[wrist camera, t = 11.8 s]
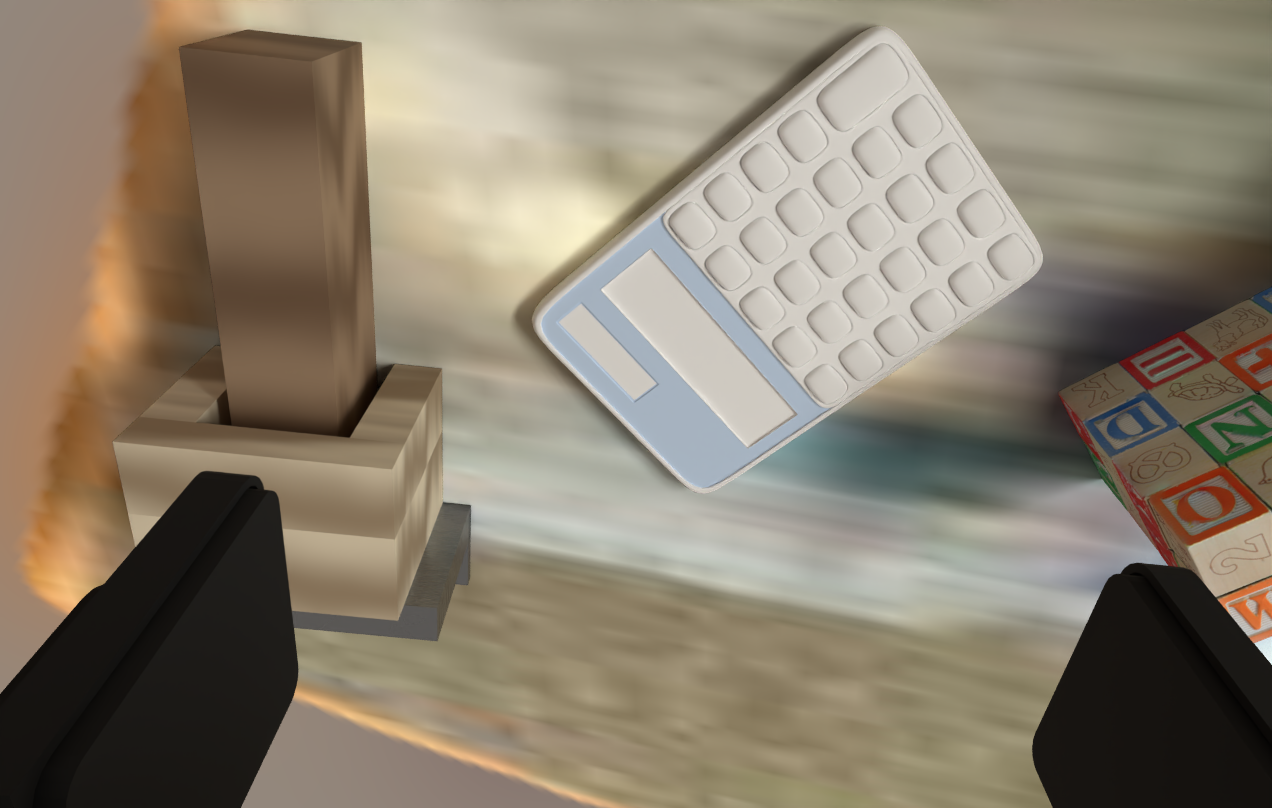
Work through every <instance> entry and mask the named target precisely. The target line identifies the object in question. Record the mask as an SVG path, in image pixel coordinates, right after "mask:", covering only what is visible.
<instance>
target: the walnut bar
mask: <svg viewBox="0 0 1272 808" xmlns="http://www.w3.org/2000/svg"><path fill="white" fill-rule="evenodd" d="M179 52H180V59H181V66H182V73H183V80H184V87H185V95H186V102H187V109H188V116H189V123H190V130H191V137H192V145H193V152H194V159H195V166H196V173H197V180H198V187H199V195H200V202H201V209H202V216H203V223H204V230H205V237H206V245H207V252H208V259H209V266H210V273H211V280H212V287H213V295H214V302H215V309H216V316H217V323H218V330H219V337H220V345H221V352H222V359H223V366H224V373H225V380H226V387H227V394H228V402H229V409H230V416H231V423H232V426H237V427H247V428H257V429H267V430H277V431H287V432H297V433H307V434H317V435H327V436H337V437H347V438H350V437H351V435H352V433H353V432H354V430H355V428H356V427H357V425H358V424H359V422H360V420H361V419H362V417H363V415H364V414H365V412H366V410H367V409H368V407H369V405H370V404H371V402H372V401H373V399H374V397H375V396H376V394H377V392H378V391H377V369H376V347H375V325H374V303H373V281H372V260H371V238H370V216H369V194H368V172H367V150H366V128H365V107H364V85H363V63H362V43H361V42H352V41H343V40H334V39H325V38H316V37H307V36H299V35H290V34H281V33H272V32H263V31H254V30H245V31H241V32H237V33H233V34H229V35H225V36H221V37H217V38H213V39H209V40H205V41H201V42H197V43H193V44H189V45H185V46H180V47H179Z"/></svg>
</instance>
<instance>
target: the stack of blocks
mask: <svg viewBox="0 0 1272 808" xmlns="http://www.w3.org/2000/svg"><path fill="white" fill-rule="evenodd" d="M1058 394H1059V397H1060V398H1061V400H1062V402H1063V404H1064V406H1065V408H1066V410H1067V412H1068V414H1069V416H1070V418H1071V420H1072V422H1073V424H1074V426H1075V428H1076V430H1077V432H1078V434H1079V435H1080V437H1081V438H1082V439H1083V441H1084V443H1085V445H1086V447H1087V449H1088V451H1089V453H1090V455H1091V457H1092V459H1093V461H1094V463H1095V465H1096V467H1097V469H1098V471H1099V473H1100V476H1101V478H1102V479H1103V480H1104V482H1105V483H1106V485H1107V486H1108V487H1109V488H1110V490H1111V491H1112V492H1113V494H1114V495H1115V496H1116V497H1117V498H1118V500H1119V501H1120V502H1121V503H1122V505H1123V506H1124V507H1125V509H1126V510H1127V511H1128V512H1129V513H1130V515H1131V516H1132V517H1133V519H1134V520H1135V521H1136V523H1137V524H1138V525H1139V527H1140V528H1141V529H1142V531H1143V532H1144V533H1145V534H1146V536H1147V537H1148V538H1149V540H1150V541H1151V542H1152V544H1153V545H1154V546H1155V548H1156V549H1157V550H1158V551H1159V553H1160V554H1161V556H1162V557H1163V559H1164V560H1165V562H1166V563H1167V564H1168V566H1174V567H1184V568H1187V569H1190V570H1192V571H1193V572H1194V573H1195V574H1196V575H1197V576H1198V577H1199V578H1200V579H1201V580H1202V581H1203V583H1204V584H1205V585H1206V586H1207V587H1208V589H1209V590H1210V591H1211V592H1212V593H1213V595H1214V596H1215V597H1216V598H1217V599H1218V601H1219V602H1220V603H1221V604H1222V606H1223V607H1224V608H1225V609H1226V610H1227V612H1228V613H1229V614H1230V615H1231V616H1232V618H1233V619H1234V620H1235V621H1236V622H1237V624H1238V625H1239V626H1240V627H1241V628H1242V630H1243V631H1244V632H1245V633H1246V635H1247V636H1248V637H1249V638H1250V639H1251V641H1252V642H1253V643H1256V642H1258V641H1261V640H1263V639H1266V638H1268V637H1271V636H1272V287H1271V288H1269V289H1267V290H1265V291H1263V292H1261V293H1258V294H1256V295H1254V296H1253V297H1252V298H1251V299H1249V300H1246V301H1243V302H1241V303H1239V304H1237V305H1235V306H1233V307H1231V308H1229V309H1227V310H1225V311H1223V312H1221V313H1220V314H1217V315H1215V316H1213V317H1211V318H1209V319H1207V320H1205V321H1203V322H1201V323H1199V324H1197V325H1195V326H1193V327H1191V328H1189V329H1188V330H1186V331H1181V332H1178V333H1176V334H1175V335H1172V336H1170V337H1168V338H1166V339H1164V340H1162V341H1160V342H1158V343H1156V344H1154V345H1152V346H1150V347H1148V348H1146V349H1144V350H1142V351H1140V352H1138V353H1136V354H1134V355H1132V356H1130V357H1128V358H1126V359H1124V360H1122V361H1120V362H1118V363H1116V364H1113V365H1111V366H1109V367H1107V368H1105V369H1103V370H1101V371H1099V372H1097V373H1095V374H1093V375H1091V376H1089V377H1087V378H1085V379H1083V380H1081V381H1079V382H1077V383H1075V384H1073V385H1070V386H1068V387H1066V388H1064V389H1063V390H1061V391H1059V392H1058Z"/></svg>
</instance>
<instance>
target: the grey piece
mask: <svg viewBox="0 0 1272 808" xmlns="http://www.w3.org/2000/svg"><path fill="white" fill-rule="evenodd" d="M470 531H471V505H462V504H452V503H442V506H441V508H440V511H439V514H438V516H437V519H436V522H435V524H434V527H433V530H432V532H431V535H430V537H429V540H428V543H427V545H426V548H425V551H424V553H423V556H422V559H421V561H420V564H419V567H418V569H417V572H416V574H415V577H414V580H413V582H412V585H411V588H410V590H409V593H408V596H407V598H406V601H405V604H404V606H403V609H402V611H401V614H400V617H399V619H398V621H395V620H385V619H374V618H364V617H353V616H342V615H332V614H321V613H311V612H300V611H292V616H293V625H294V628H302V629H313V630H324V631H334V632H345V633H356V634H366V635H377V636H388V637H398V638H409V639H420V640H430V641H438V638H439V634H440V631H441V628H442V625H443V622H444V618H445V615H446V612H447V609H448V606H449V602H450V599H451V596H452V593H453V590H454V586H455V584H460V585H468V583H469V579H470Z"/></svg>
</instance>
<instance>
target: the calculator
mask: <svg viewBox="0 0 1272 808" xmlns="http://www.w3.org/2000/svg"><path fill="white" fill-rule="evenodd" d="M889 45H890V46H891V47H892V48H893V49H894V50H893V49H892V48H891V47H890V46H889ZM896 53H897V54H896ZM898 56H899V57H898ZM900 59H901V60H900ZM902 62H903V63H902ZM905 67H906V68H905ZM906 69H907V70H906ZM907 72H908V73H907ZM928 101H929V102H930V103H929V102H928ZM931 105H932V106H931ZM935 111H936V112H935ZM937 114H938V115H937ZM834 127H835V128H834ZM821 128H822V129H821ZM846 130H847V131H846ZM823 131H824V132H823ZM887 133H888V134H887ZM826 137H827V138H826ZM890 137H891V138H890ZM895 144H896V145H895ZM785 146H786V147H785ZM914 147H915V148H914ZM898 149H899V150H898ZM788 150H789V151H788ZM962 151H963V152H962ZM964 154H965V155H964ZM793 156H794V157H795V158H796V159H795V158H794V157H793ZM970 163H971V164H970ZM971 165H972V166H971ZM743 170H744V171H743ZM788 170H789V171H788ZM745 173H746V174H745ZM788 174H789V175H788ZM855 174H856V175H855ZM748 177H749V178H748ZM857 177H858V178H857ZM921 181H922V182H921ZM752 182H753V183H752ZM924 185H925V186H924ZM861 187H862V188H861ZM926 188H927V189H926ZM760 190H761V191H760ZM928 191H929V192H928ZM930 194H931V195H930ZM931 196H932V197H931ZM824 197H825V198H824ZM993 197H994V198H993ZM707 200H708V201H707ZM995 200H996V201H995ZM751 203H752V204H751ZM750 206H751V207H750ZM714 209H715V210H714ZM821 210H822V211H821ZM777 212H778V213H777ZM778 214H779V215H778ZM886 216H887V217H886ZM780 217H781V218H780ZM783 221H784V222H783ZM904 221H905V222H904ZM952 225H953V226H952ZM787 226H788V227H787ZM955 229H956V230H955ZM715 233H716V234H715ZM795 234H796V235H795ZM853 235H854V236H853ZM961 238H962V239H961ZM856 239H857V240H856ZM1021 239H1022V240H1023V241H1022V240H1021ZM741 240H742V241H741ZM962 240H963V241H962ZM742 242H743V243H742ZM1024 243H1025V244H1024ZM786 244H787V245H786ZM744 245H745V246H744ZM861 245H862V246H863V247H864V248H863V247H862V246H861ZM747 249H748V250H747ZM1028 249H1029V250H1028ZM1031 254H1032V255H1031ZM752 255H753V256H754V257H753V256H752ZM855 255H856V256H855ZM929 258H930V259H929ZM815 261H816V262H815ZM933 262H934V263H935V264H934V263H933ZM1042 263H1043V254H1042V251H1041V248H1040V246H1039V243H1038V242H1037V240H1036V238H1035V236H1034V235H1033V233H1032V231H1031V230H1030V228H1029V227H1028V225H1027V224H1026V222H1025V221H1024V219H1023V218H1022V216H1021V215H1020V213H1019V212H1018V210H1017V209H1016V207H1015V206H1014V204H1013V203H1012V201H1011V200H1010V198H1009V197H1008V195H1007V194H1006V192H1005V191H1004V189H1003V188H1002V186H1001V185H1000V183H999V182H998V180H997V179H996V177H995V176H994V174H993V173H992V171H991V170H990V168H989V167H988V165H987V164H986V162H985V161H984V159H983V158H982V156H981V155H980V153H979V152H978V150H977V149H976V147H975V146H974V144H973V143H972V141H971V140H970V138H969V137H968V135H967V134H966V132H965V131H964V129H963V128H962V126H961V125H960V123H959V122H958V120H957V119H956V117H955V116H954V114H953V113H952V111H951V110H950V108H949V107H948V105H947V104H946V102H945V101H944V99H943V98H942V96H941V95H940V93H939V92H938V90H937V89H936V87H935V86H934V84H933V83H932V81H931V80H930V78H929V77H928V75H927V74H926V72H925V71H924V69H923V68H922V66H921V65H920V63H919V62H918V60H917V59H916V57H915V56H914V54H913V53H912V51H911V50H910V49H909V47H908V46H907V45H906V43H905V42H904V41H903V39H902V38H901V37H900V36H899V35H897V34H896V33H895V32H894V31H893V30H891V29H889V28H887V27H885V26H876V27H871V28H869V29H867V30H865V31H864V32H862V33H860V34H858V35H857V36H856V37H854V38H853V39H852V40H850V41H849V42H848V43H846V44H845V45H844V46H843V47H841V48H840V49H839V50H838V51H837V52H835V53H834V54H833V55H832V56H831V57H829V58H828V59H827V60H826V61H824V62H823V63H822V64H821V65H820V66H818V67H817V68H816V69H815V70H814V71H812V72H811V73H810V74H809V75H808V76H806V77H805V78H804V79H803V80H802V81H801V82H799V83H798V84H797V85H796V86H795V87H793V88H792V89H791V90H790V91H789V92H787V93H786V94H785V95H784V96H783V97H781V98H780V99H779V100H778V101H777V102H775V103H774V104H773V105H772V106H771V107H769V108H768V109H767V110H766V111H765V112H763V113H762V114H761V115H760V116H759V117H757V118H756V119H755V120H754V121H753V122H751V123H750V124H749V125H748V126H747V127H745V128H744V129H743V130H742V131H741V132H739V133H738V134H737V135H736V136H735V137H733V138H732V139H731V140H730V141H729V142H728V143H726V144H725V145H724V146H723V147H722V148H720V149H719V150H718V151H717V152H716V153H714V154H713V155H712V156H711V157H710V158H708V159H707V160H706V161H705V162H704V163H702V164H701V165H700V166H699V167H698V168H696V169H695V170H694V171H693V172H692V173H690V174H689V175H688V176H687V177H686V178H684V179H683V180H682V181H681V182H680V183H678V184H677V185H676V186H675V187H674V188H672V189H671V190H670V191H669V192H668V193H667V194H665V195H664V196H663V197H662V198H661V199H659V200H658V201H657V202H656V203H655V204H653V205H652V206H651V207H650V208H649V209H647V210H646V211H645V212H644V213H643V214H641V215H640V216H639V217H638V218H637V219H635V220H634V221H633V222H632V223H631V224H629V225H628V226H627V227H626V228H625V229H623V230H622V231H621V232H620V233H619V234H617V235H616V236H615V237H614V238H613V239H611V240H610V241H609V242H608V243H607V244H606V245H604V246H603V247H602V248H601V249H600V250H598V251H597V252H596V253H595V254H594V255H592V256H591V257H590V258H589V259H588V260H586V261H585V262H584V263H583V264H582V265H580V266H579V267H578V268H577V269H576V270H574V271H573V272H572V273H571V274H570V275H568V276H567V277H566V278H565V279H564V280H563V281H561V282H560V283H559V284H558V285H557V286H555V287H554V288H553V289H552V290H551V291H550V292H549V293H548V294H547V295H546V296H545V297H544V298H543V299H542V300H541V301H540V303H539V304H538V305H537V307H536V308H535V310H534V313H533V317H532V323H533V328H534V331H535V332H536V334H537V335H538V337H539V338H540V340H541V341H542V342H543V343H544V344H545V345H546V347H547V348H548V349H549V350H550V351H551V352H552V353H553V354H554V355H555V356H556V357H557V358H558V359H559V360H560V361H561V362H562V363H563V364H564V365H565V366H566V367H567V368H568V369H569V370H570V371H571V372H572V373H573V374H574V375H575V376H576V377H577V378H578V379H579V380H580V381H581V382H582V383H583V384H584V385H585V386H586V387H587V388H588V389H589V390H590V392H591V393H592V394H593V395H594V396H595V397H596V398H597V399H598V400H599V401H600V402H601V403H602V404H603V405H604V406H605V407H606V408H607V409H608V410H609V411H610V412H611V413H612V414H613V415H614V416H615V417H616V418H617V419H618V420H619V421H620V422H621V423H622V424H623V425H624V426H625V427H626V428H627V429H628V430H629V431H630V432H631V433H632V434H633V435H634V436H635V437H636V438H637V439H638V440H639V441H640V442H641V443H642V444H643V445H644V446H645V447H646V448H647V449H648V450H649V451H650V452H651V453H652V454H653V455H654V456H655V457H656V458H657V459H658V460H659V461H660V462H661V463H662V464H663V465H664V466H665V467H666V468H667V469H668V470H669V471H670V472H671V473H672V474H673V475H674V476H675V477H676V478H677V479H678V480H679V481H680V482H681V483H682V484H683V485H684V486H686V487H687V488H689V489H690V490H692V491H693V492H697V493H700V494H703V493H710V492H712V491H714V490H716V489H719V488H720V487H722V486H724V485H725V484H727V483H729V482H730V481H732V480H733V479H735V478H736V477H738V476H739V475H741V474H742V473H744V472H746V471H747V470H749V469H750V468H752V467H753V466H754V465H756V464H757V463H759V462H760V461H762V460H763V459H765V458H766V457H768V456H769V455H771V454H772V453H774V452H775V451H777V450H778V449H780V448H781V447H783V446H784V445H786V444H787V443H789V442H790V441H792V440H793V439H795V438H796V437H798V436H799V435H801V434H802V433H804V432H805V431H807V430H808V429H810V428H811V427H813V426H814V425H816V424H817V423H818V422H820V421H821V420H823V419H824V418H826V417H827V416H829V415H830V414H832V413H833V412H835V411H836V410H838V409H839V408H841V407H842V406H844V405H845V404H847V403H848V402H850V401H851V400H853V399H854V398H856V397H857V396H859V395H860V394H862V393H863V392H865V391H866V390H868V389H869V388H871V387H872V386H874V385H875V384H877V383H878V382H880V381H881V380H883V379H884V378H885V377H887V376H888V375H890V374H891V373H893V372H894V371H896V370H897V369H899V368H900V367H902V366H903V365H905V364H906V363H908V362H909V361H911V360H912V359H914V358H915V357H917V356H918V355H920V354H921V353H923V352H924V351H926V350H927V349H929V348H930V347H932V346H933V345H935V344H936V343H938V342H939V341H941V340H942V339H944V338H945V337H947V336H948V335H950V334H951V333H952V332H954V331H955V330H957V329H958V328H960V327H961V326H963V325H964V324H966V323H967V322H969V321H970V320H972V319H973V318H975V317H976V316H978V315H979V314H981V313H982V312H984V311H985V310H987V309H988V308H990V307H991V306H993V305H994V304H996V303H997V302H999V301H1000V300H1002V299H1003V298H1005V297H1006V296H1007V295H1009V294H1010V293H1012V292H1013V291H1015V290H1016V289H1018V288H1019V287H1020V286H1022V285H1023V284H1024V283H1026V282H1027V281H1028V280H1030V279H1031V278H1032V277H1033V276H1034V275H1035V274H1036V273H1037V272H1038V271H1039V269H1040V267H1041V265H1042ZM936 264H937V265H936ZM818 265H819V266H818ZM980 265H981V266H980ZM923 267H924V268H923ZM822 270H823V271H824V272H825V273H824V272H823V271H822ZM984 270H985V271H984ZM986 273H987V274H986ZM826 274H827V275H826ZM1001 276H1002V277H1003V278H1002V277H1001ZM885 277H886V278H885ZM990 279H991V280H990ZM775 281H776V282H775ZM776 283H777V284H776ZM992 283H993V284H992ZM819 284H820V285H819ZM778 286H779V287H778ZM781 290H782V291H781ZM786 296H787V297H786ZM887 297H888V298H887ZM959 299H960V300H959ZM846 300H847V301H846ZM948 300H949V301H948ZM962 302H963V303H964V304H963V303H962ZM849 304H850V305H849ZM952 306H953V307H952ZM953 308H954V309H953ZM853 309H854V310H855V311H854V310H853ZM954 310H955V311H954ZM784 312H785V313H784ZM921 324H922V325H923V326H922V325H921ZM851 325H852V326H851ZM811 326H812V327H811ZM925 328H926V329H925ZM814 330H815V331H814ZM917 336H918V337H917ZM877 339H878V340H877ZM880 343H881V344H880ZM884 348H885V349H886V350H885V349H884ZM816 350H817V351H816ZM889 353H890V354H889ZM881 360H882V361H881ZM841 362H842V363H841ZM843 365H844V366H843ZM848 371H849V372H848Z"/></svg>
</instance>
